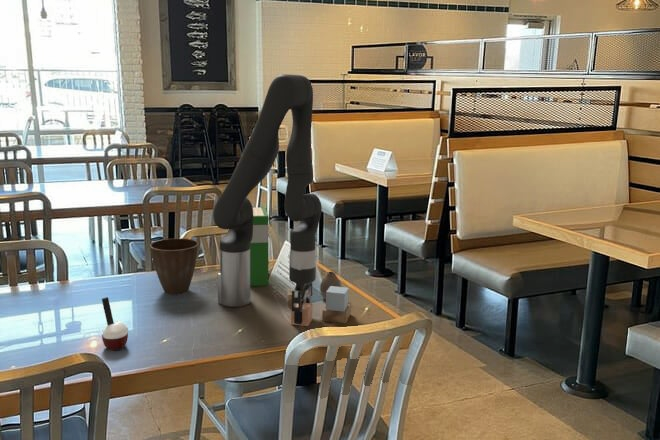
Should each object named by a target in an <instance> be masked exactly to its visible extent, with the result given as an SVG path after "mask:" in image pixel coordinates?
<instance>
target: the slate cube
mask: <svg viewBox="0 0 660 440" xmlns="http://www.w3.org/2000/svg"><path fill="white" fill-rule="evenodd" d="M348 304H349V287H345V286H342V287H336V286H330V287H329V289H328V290H327V291H326V300H325V306H326V310H332V311H341V312H344V311H345V310H346V308H347V306H348Z"/></svg>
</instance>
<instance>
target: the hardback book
mask: <svg viewBox="0 0 660 440" xmlns="http://www.w3.org/2000/svg"><path fill="white" fill-rule="evenodd" d="M253 216H254V217H253V237H252V241H251V243H250V287H253V286H254V287H257V286H258V287H259V286H269V214H268V211H267V209H266V207H265V205H263V204H261V205H260V207H253Z"/></svg>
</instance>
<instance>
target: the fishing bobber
mask: <svg viewBox="0 0 660 440" xmlns="http://www.w3.org/2000/svg"><path fill="white" fill-rule="evenodd" d="M101 302H102V307H103V310H104V315H105V319H106V324H107V325H106V326H105V327H104V328H103V330H102V335H101V340H102V343H103V346H104V347H105V348H106V349H108V350H109V351H118V349H119V350H121V349H123V348H125V346H126V345H127V342H128V338H129V333H128V332H129V328H128V327H127V325H126V324H125V323H124V322H122V321H121V320H119V321H116V322H115V321H114V318H113V313H112V308H111V304H110V301H109V297H102V298H101Z"/></svg>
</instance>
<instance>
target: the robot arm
mask: <svg viewBox="0 0 660 440" xmlns="http://www.w3.org/2000/svg"><path fill="white" fill-rule="evenodd" d="M266 92H267V93H266V96H265V97H264V98H265V99H264V102H263V104H262V108H261V111H260V114H259V116H258V119H257V120H256V123H255V124H254V128H253V129H252V132H251V134H250V136H249V139H248V140H247V143H246V144H245V147H244V148H243V151H242V153H241V155H240V158H239V160H238V163H237V165H236V167H235V168H234V170H233V172H232V175H231V177H230V179H229V181H228V183H227V185H226V186H225V188H224V190H223V191H222V193H221V194H220V196H219V197H218V198H217V201H216V203H215V205H214V206H213V211H212V212H213V215H212V216H213V222H214V223H215V225H216V226H217V227H218V228H219V229H221V230H228V231H227V232H226V233H225V234H224V236H222V238H221V239H220V240H219V273H218V274H217V304H219V305H220V304H221V305H222V306H226V307H230V308H231V307H233V308H237V307H238V308H239V307H243V306H244V307H245V306H247V305H249V304H250V303H251V286H250V243H251V241H252V237H253V217H254V216H253V208H254V207H253V205H252V203H251V201H250V199H248V195H250V193H251V192H252V191H253V190H254V189H255V188H256V187H257V186H258V185H259V184H260V183H261V182H262V181H263V180H264V179H265V178H266V177H267V176H268V174H269V172H270V171H271V169H272V167H273V165H274V163H275V161H276V159H277V157H278V155H279V150H280V137H279V136H280V133H279V131H280V127H281V125H282V123H283V121H284V119H285V117H286V115H287V113H288V112H289V110H290V111H291V117H292V127H291V132H290V133H291V134H290V137H289V141H288V144H287V148H286V155H285V159H286V160H285V161H286V163H285V164H286V171H287V172H286V173H287V184H286V188H285V189H286V190H285V191H286V192H285V195H284V204H283V205H284V207H283V208H284V212H285V214H286V216H287V218H288V219H289V220H290V221H292V222H299V224H298V225H297V226H296V227H294V228H293V229H291V232H290V246H289V247H290V249H289V250H290V251H289V262H288V263H289V268H288V272H289V275H288V276H289V281H290V282H292V283H294V284H295V286H294V287H293V289H292V307H290V311H291V310H292V311H294V323H295V324H301V323H302V311H303V305H304V304H305V303H310V304H311V300H312V296H313V282H315V281H316V278H317V276H316V275H317V254H316V235H317V230H318V228H319V223H320V220H321V216H322V211H323V210H322V202H321V199H320V198H319V196H318V195H317V194H315V193H305V190H306V188H307V187H308V186H310V185H311V184H312V183H313V181H314V173H313V172H314V170H313V161H312V149H311V148H312V145H311V144H312V140H311V139H312V138H311V137H312V123H313V105H314V104H313V103H314V91H313V85H312V82H311V81H310V79H309V78H307V76H304V75H300V74H279V75H277V76H276V77H274V78H273V80H271V83H270V84H269V86H268V90H267V91H266ZM297 304H298V307H296V306H297Z"/></svg>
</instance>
